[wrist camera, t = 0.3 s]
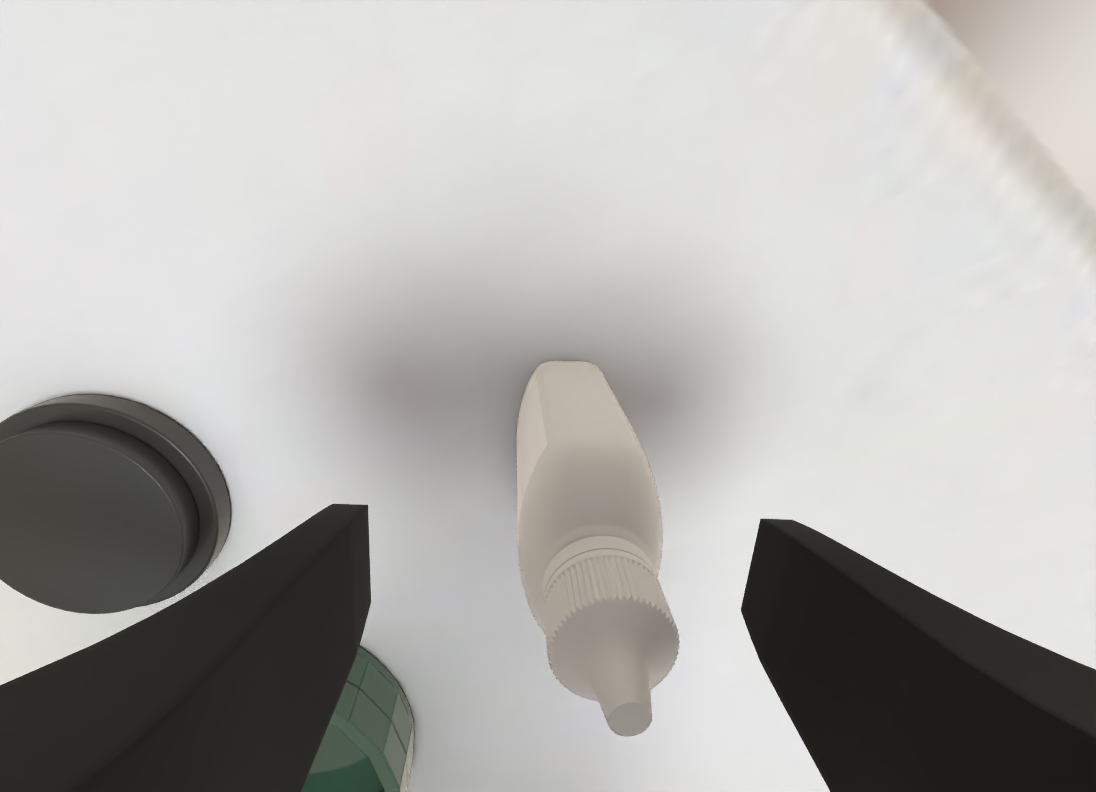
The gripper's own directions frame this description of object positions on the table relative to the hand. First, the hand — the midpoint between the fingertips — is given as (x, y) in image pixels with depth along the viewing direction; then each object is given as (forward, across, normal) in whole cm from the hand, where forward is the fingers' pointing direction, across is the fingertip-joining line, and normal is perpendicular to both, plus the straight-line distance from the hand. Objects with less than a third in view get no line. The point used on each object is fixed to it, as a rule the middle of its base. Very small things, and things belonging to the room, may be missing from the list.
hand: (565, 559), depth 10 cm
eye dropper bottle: (+10, -1, +1) cm, 10 cm away
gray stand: (+10, +15, +5) cm, 19 cm away
